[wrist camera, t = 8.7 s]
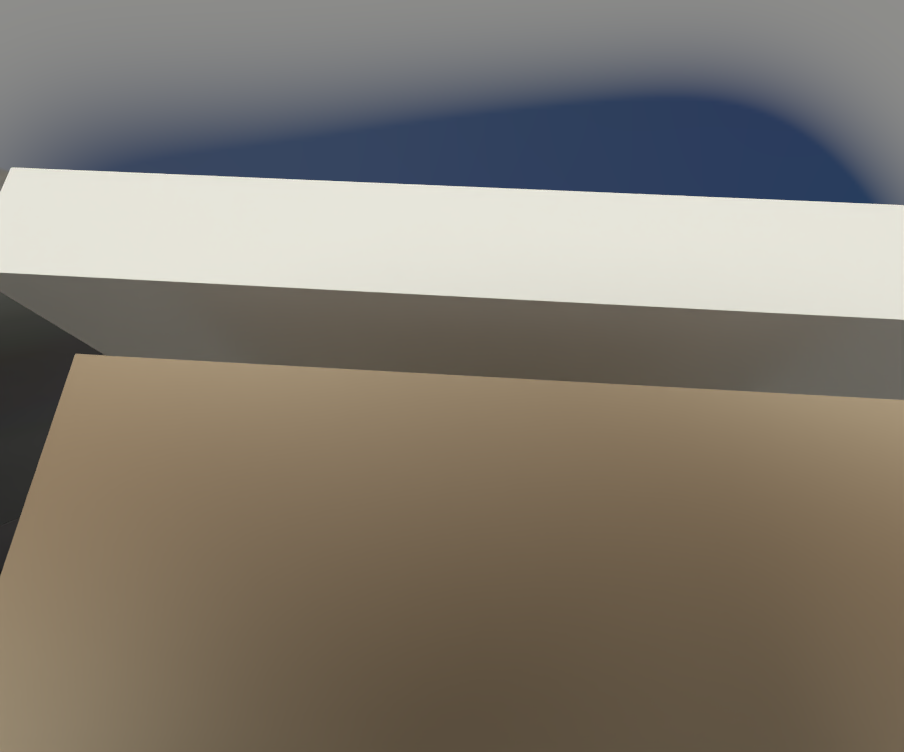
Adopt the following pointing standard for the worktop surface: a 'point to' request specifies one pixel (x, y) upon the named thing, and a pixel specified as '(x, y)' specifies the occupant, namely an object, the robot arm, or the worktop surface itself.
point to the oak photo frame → (452, 566)
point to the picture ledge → (464, 279)
